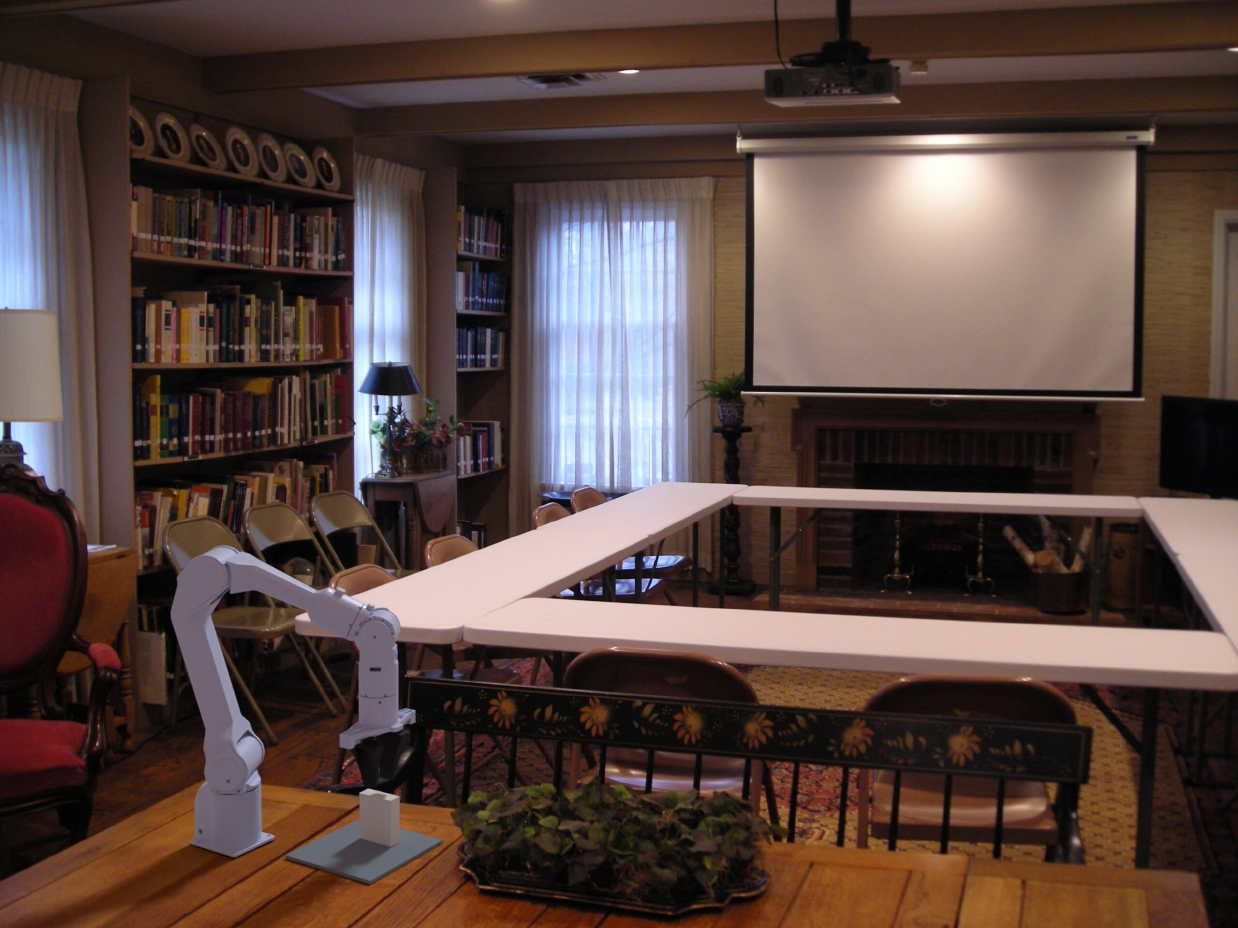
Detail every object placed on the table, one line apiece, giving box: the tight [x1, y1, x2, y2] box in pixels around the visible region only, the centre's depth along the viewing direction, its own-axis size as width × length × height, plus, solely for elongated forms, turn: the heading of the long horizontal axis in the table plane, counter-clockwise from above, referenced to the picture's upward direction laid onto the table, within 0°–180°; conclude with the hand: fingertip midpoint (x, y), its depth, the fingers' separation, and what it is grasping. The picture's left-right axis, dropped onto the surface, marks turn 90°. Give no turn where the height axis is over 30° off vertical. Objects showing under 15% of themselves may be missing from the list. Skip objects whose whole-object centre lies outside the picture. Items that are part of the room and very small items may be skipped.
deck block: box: [358, 788, 401, 847], centre depth 173 cm, size 6×2×7 cm, turn 61°
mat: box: [285, 818, 444, 885], centre depth 171 cm, size 16×16×1 cm
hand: (379, 782), depth 172 cm, fingers open, 3 cm apart
